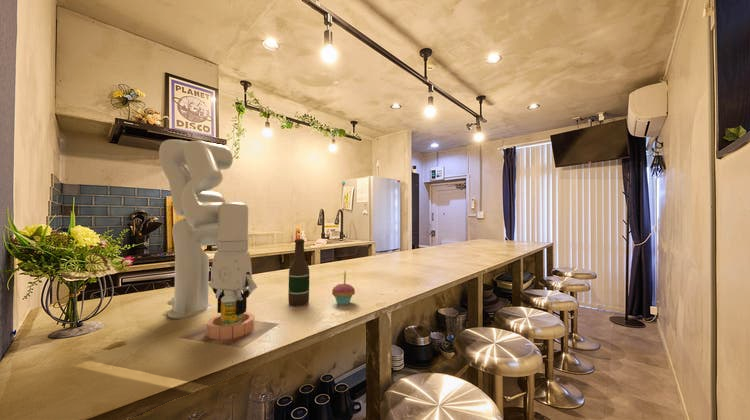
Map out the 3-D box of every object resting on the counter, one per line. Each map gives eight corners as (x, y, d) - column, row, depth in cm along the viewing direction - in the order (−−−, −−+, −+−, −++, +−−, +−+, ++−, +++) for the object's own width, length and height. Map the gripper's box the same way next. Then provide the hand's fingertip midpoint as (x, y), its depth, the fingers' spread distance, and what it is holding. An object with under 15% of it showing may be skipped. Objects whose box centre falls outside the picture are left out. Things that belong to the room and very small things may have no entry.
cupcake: (335, 299, 109) (336, 268, 109) (356, 300, 108) (357, 269, 108) (329, 306, 101) (329, 273, 101) (351, 307, 100) (352, 274, 100)
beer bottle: (306, 306, 100) (307, 240, 100) (284, 306, 100) (285, 239, 100) (311, 300, 108) (312, 238, 108) (291, 299, 108) (292, 238, 108)
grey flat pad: (177, 341, 72) (177, 336, 72) (222, 320, 86) (222, 316, 86) (242, 352, 67) (242, 347, 67) (278, 327, 81) (278, 323, 81)
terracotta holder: (196, 336, 73) (197, 324, 73) (229, 320, 84) (230, 310, 84) (233, 341, 70) (233, 329, 70) (262, 324, 81) (262, 314, 81)
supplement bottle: (240, 317, 80) (241, 284, 80) (243, 324, 76) (244, 288, 76) (219, 321, 77) (220, 287, 77) (221, 328, 73) (222, 291, 73)
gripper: (196, 247, 75) (195, 314, 75) (249, 249, 71) (248, 320, 71) (218, 244, 83) (217, 305, 82) (268, 246, 78) (267, 310, 78)
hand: (231, 311), depth 77 cm, fingers closed on supplement bottle, 5 cm apart
